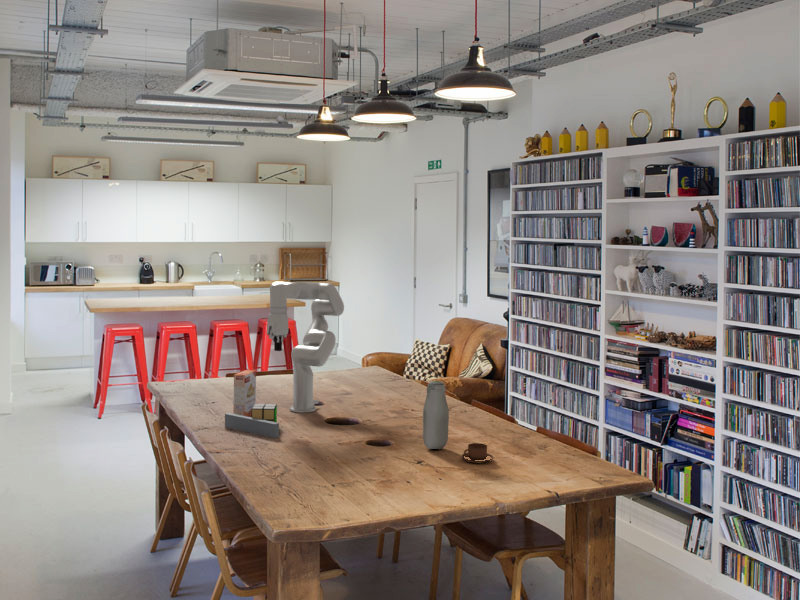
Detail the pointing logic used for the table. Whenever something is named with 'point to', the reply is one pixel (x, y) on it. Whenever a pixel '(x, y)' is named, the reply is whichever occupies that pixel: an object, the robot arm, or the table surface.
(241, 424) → the stop board
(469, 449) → the cup and saucer
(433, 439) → the glass bottle
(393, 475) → the table surface
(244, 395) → the cracker box
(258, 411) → the puzzle cube
